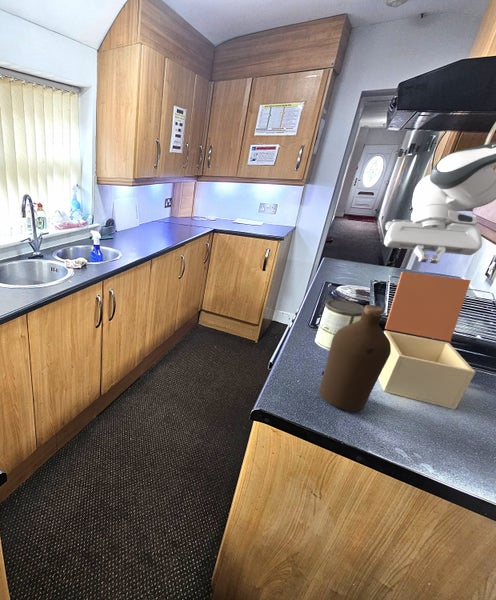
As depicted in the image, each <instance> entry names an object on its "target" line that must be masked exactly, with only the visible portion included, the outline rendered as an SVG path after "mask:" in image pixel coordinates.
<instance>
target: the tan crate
mask: <svg viewBox="0 0 496 600" xmlns="http://www.w3.org/2000/svg"><path fill="white" fill-rule="evenodd" d="M383 332H384V334H385V335H386V336H387V338H388V339H389V341H390V345H391V352H390V356H389V358H388V360H387V362H386V364H385V366H384V368H383V369H382V371H381V373H380V375H379V377H378V379H377V380H378V381H379V383H380V386H381V388H382V390H383V392H385V393H389V394H393V395H397V396H400V397H404V398H408V399H412V400H416V401H420V402H424V403H428V404H432V405H435V406H439V407H443V408H447V409H451V410H456V409H457V407H458V405H459V404H460V401H461V400H462V398H463V396H464V394H465V392H466V390H467V389H468V387H469V385H470V384H471V381H472V380H473V378H474V376H475V375H476V371H475V369H473V367H471V365H470V364H469V363H468V362H467V361H466V360H465V358H463V356H461V354H460V353H459V352H458V351H457V350H456V349H455V348H454V347H453V345H452V344H451V342H448V341H443V340H438V339H432V338H427V337H422V336H417V335H416V336H415V335H412V334H406V333H401V332H396V331H391V330H384V331H383Z"/></svg>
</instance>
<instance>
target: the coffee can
mask: <svg viewBox="0 0 496 600" xmlns="http://www.w3.org/2000/svg"><path fill="white" fill-rule="evenodd" d="M324 304H325V305H324V309H323V312H322V315H321V319H320V323H319V325H318V329H317V332H316V336H315V339H314V342H315V344H317V346H319V347H321V348H322V349H324V350H327V351H330V347H331V343H332V339H333V337H334V335H335V334H336V333H337V331H338V330H339V329H341V328H342V327H344V326H347V325H349V324H352V323H355V322H357V321H359V320H360V318H361V315H362V312H363V311H364V310H365V309H364V308H365V306H363V305H362V304H360V303H357V302H353V301H350V300H345V299H335V298H334V299H328V300H326V301H325V302H324Z"/></svg>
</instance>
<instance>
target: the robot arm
mask: <svg viewBox="0 0 496 600" xmlns="http://www.w3.org/2000/svg"><path fill="white" fill-rule="evenodd" d="M493 167H496V141H492V142H489V143H486V144H482V145H478V146H474V147H469V148H463V149H459V150H456V151H454V152H451V153H448V154H447V155H445V156H443V157H442V158H440V159H439V160H438V162H436V163H435V165H434V166H433V168H432V170H431V172H430V174H428V175H426V176H424V177H423V178H421V180H419V181H418V183H417V184H416V186H415V188H414V190H413V194H412V199H411V207H412V212H411V213H410V219H397V218H396V219H392V220H388V221H387V222H386V223H385V230H386V233H385V237H384V239H383V245H384V246H385V247H387V248H394V249H405V250H413V253H414V254H415V255H416V256H417V258H418V262H419V263H427V262H428V263H429V264H436V265H437V264H438V263H439V262H440V259H441V256H442V255H443V254H452V255H463V256H472V255H474V254H476V253H477V252H479V251H480V250H481V248H482V246H483V238H482V233H481V230H480V228H479V227H478V226H476V225H477V224H478V218H477V217H475V216H472V215H468V214H466V213H465V214H464V213H461V212H462V211H468V210H472V209H477V208H481V207H484V206H487V205H489V204H491V203H493V202H494V201H495V200H496V170H494V169H493ZM425 252H434V254H433V255H431V256H430V257H429V255H430V254H426V253H425Z"/></svg>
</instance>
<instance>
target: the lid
mask: <svg viewBox="0 0 496 600" xmlns="http://www.w3.org/2000/svg"><path fill="white" fill-rule="evenodd" d="M470 283H471V279H463V278H456V277H448V276H440V275H433V274H432V275H431V274H425V273H415V272H408V271H401V272H400V276H399V279H398V282H397V286H396V289H395V293H394V296H393V299H392V303H391V306H390V308H389V309H390V310H389V312H388V316H387V319H386V323H385V327H384V329H385V330H386V331H392V332H397V333H402V334H408V335H413V336H415V335H416V336H418V337H423V338H429V339H434V340H439V341H444V342H451V341H452V338H453V335H454V332H455V329H456V327H457V323H458V320H459V317H460V314H461V311H462V308H463V305H464V302H465V299H466V296H467V293H468V289H469V286H470Z"/></svg>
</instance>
